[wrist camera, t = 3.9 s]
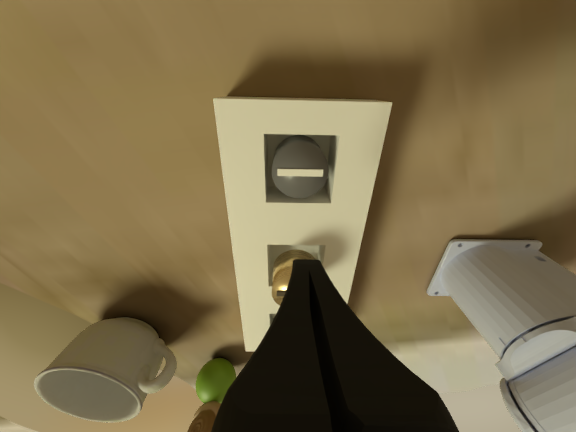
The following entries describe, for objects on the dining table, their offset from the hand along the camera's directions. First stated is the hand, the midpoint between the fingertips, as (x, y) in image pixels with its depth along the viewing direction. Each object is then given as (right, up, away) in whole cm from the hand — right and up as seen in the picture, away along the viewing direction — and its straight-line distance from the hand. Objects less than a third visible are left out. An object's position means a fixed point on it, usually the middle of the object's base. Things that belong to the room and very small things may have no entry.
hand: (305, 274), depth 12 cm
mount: (0, 0, +12) cm, 12 cm away
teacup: (-21, -12, +19) cm, 31 cm away
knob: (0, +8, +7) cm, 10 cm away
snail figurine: (-11, -19, +23) cm, 31 cm away
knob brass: (0, -2, +9) cm, 9 cm away
